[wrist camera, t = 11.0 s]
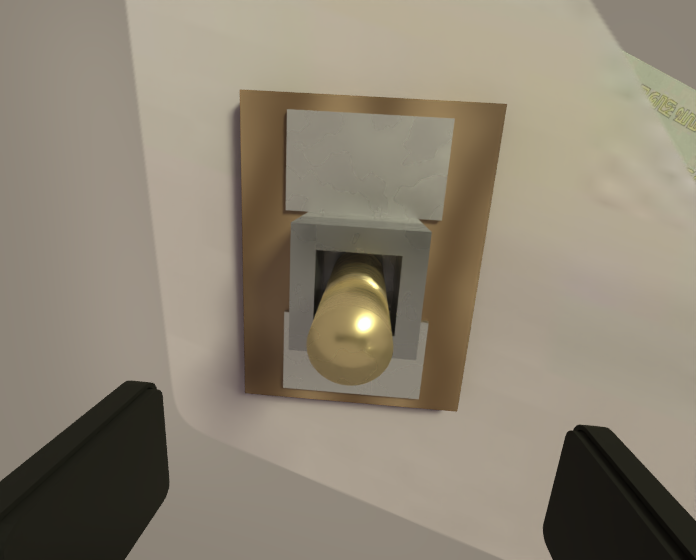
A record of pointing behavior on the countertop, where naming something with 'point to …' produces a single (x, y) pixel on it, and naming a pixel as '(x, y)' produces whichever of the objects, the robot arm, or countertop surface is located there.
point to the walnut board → (447, 235)
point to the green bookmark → (671, 107)
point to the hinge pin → (352, 323)
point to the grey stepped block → (363, 228)
